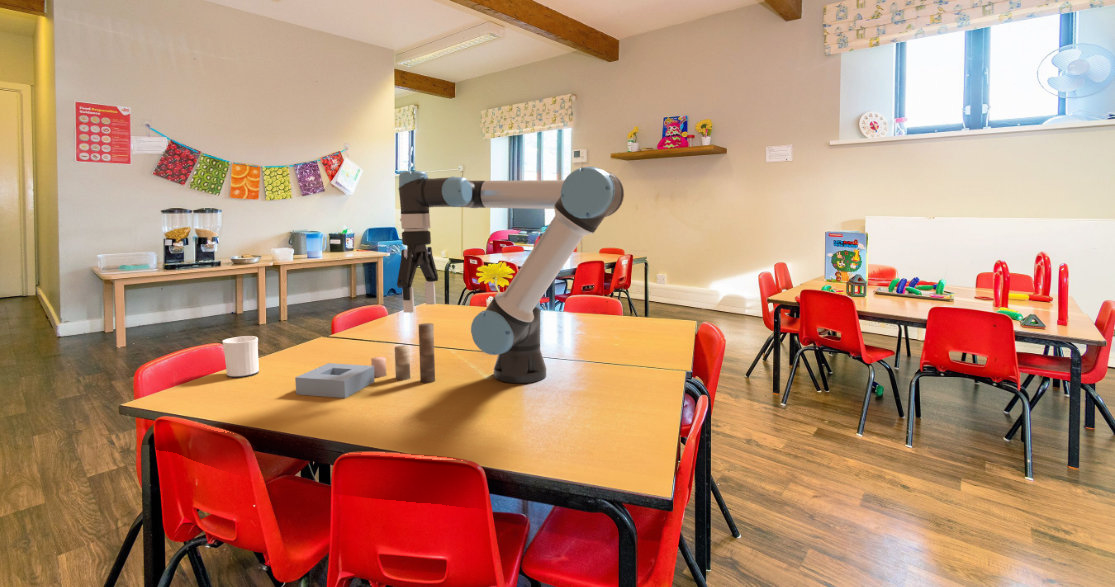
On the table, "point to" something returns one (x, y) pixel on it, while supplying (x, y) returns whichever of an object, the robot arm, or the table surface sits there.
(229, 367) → the mug
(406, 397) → the table surface
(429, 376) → the pin long
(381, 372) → the pin short
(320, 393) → the socket
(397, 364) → the pin medium
